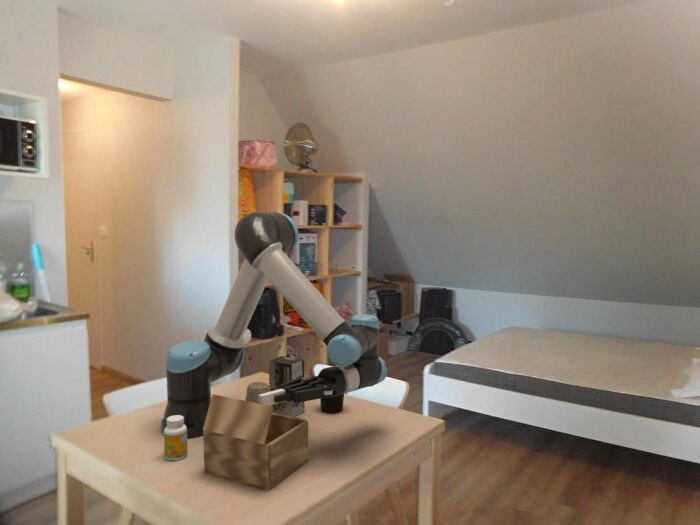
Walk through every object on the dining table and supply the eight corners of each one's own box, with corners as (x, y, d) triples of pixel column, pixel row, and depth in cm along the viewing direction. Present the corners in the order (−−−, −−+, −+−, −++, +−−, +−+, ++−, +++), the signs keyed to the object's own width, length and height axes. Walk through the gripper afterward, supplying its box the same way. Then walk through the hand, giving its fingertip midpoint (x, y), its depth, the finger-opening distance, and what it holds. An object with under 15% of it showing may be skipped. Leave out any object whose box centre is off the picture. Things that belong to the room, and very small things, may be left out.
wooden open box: (202, 471, 123) (201, 429, 122) (247, 444, 137) (247, 407, 137) (270, 491, 114) (269, 446, 113) (310, 460, 129) (310, 420, 128)
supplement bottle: (159, 459, 129) (158, 420, 128) (174, 450, 134) (173, 412, 133) (177, 462, 127) (176, 423, 126) (192, 453, 132) (191, 415, 132)
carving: (265, 431, 146) (265, 389, 145) (240, 428, 148) (240, 386, 147) (274, 423, 152) (274, 382, 151) (250, 420, 154) (250, 380, 153)
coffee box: (305, 411, 161) (305, 359, 160) (292, 418, 156) (291, 364, 155) (282, 405, 166) (281, 355, 165) (268, 412, 161) (268, 359, 160)
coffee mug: (342, 416, 157) (342, 383, 157) (314, 414, 159) (314, 381, 158) (350, 403, 169) (350, 372, 168) (324, 401, 171) (324, 370, 170)
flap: (204, 429, 121) (202, 429, 121) (213, 394, 124) (212, 394, 123) (264, 444, 113) (263, 444, 113) (273, 406, 116) (272, 406, 115)
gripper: (354, 400, 133) (276, 425, 117) (321, 388, 142) (245, 409, 126) (355, 371, 132) (276, 392, 116) (321, 360, 141) (244, 378, 125)
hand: (260, 401), depth 121 cm, fingers closed
